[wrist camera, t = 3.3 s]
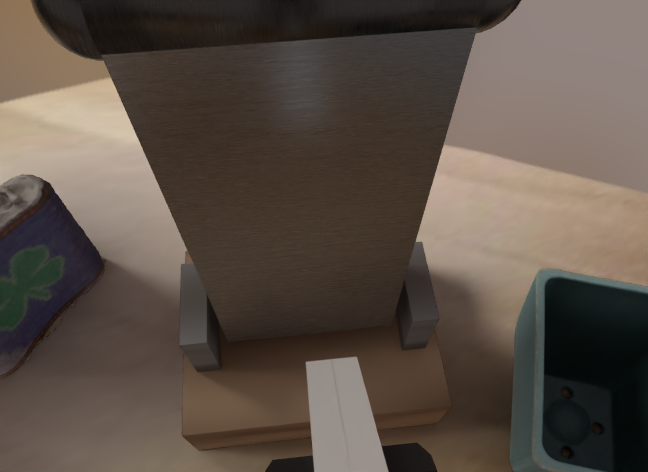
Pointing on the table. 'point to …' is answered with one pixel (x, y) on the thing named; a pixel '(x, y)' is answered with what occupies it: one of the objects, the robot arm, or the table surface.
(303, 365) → the base
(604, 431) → the flower pot
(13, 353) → the flask
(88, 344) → the table surface
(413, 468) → the robot arm
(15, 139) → the table surface
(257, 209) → the lever
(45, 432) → the table surface
